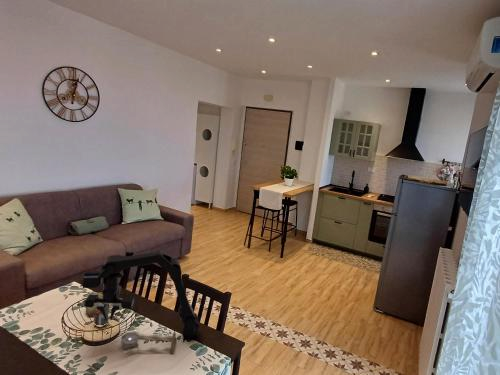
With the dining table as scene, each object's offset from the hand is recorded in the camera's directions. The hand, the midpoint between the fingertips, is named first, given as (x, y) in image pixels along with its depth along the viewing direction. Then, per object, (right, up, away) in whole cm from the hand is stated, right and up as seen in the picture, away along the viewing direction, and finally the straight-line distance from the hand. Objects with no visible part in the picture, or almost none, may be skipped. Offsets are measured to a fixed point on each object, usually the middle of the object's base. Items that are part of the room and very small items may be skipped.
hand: (109, 319), depth 138 cm
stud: (+7, -13, +4) cm, 15 cm away
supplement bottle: (-10, -8, +15) cm, 19 cm away
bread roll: (-16, -5, +26) cm, 31 cm away
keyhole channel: (+17, -14, +5) cm, 22 cm away
